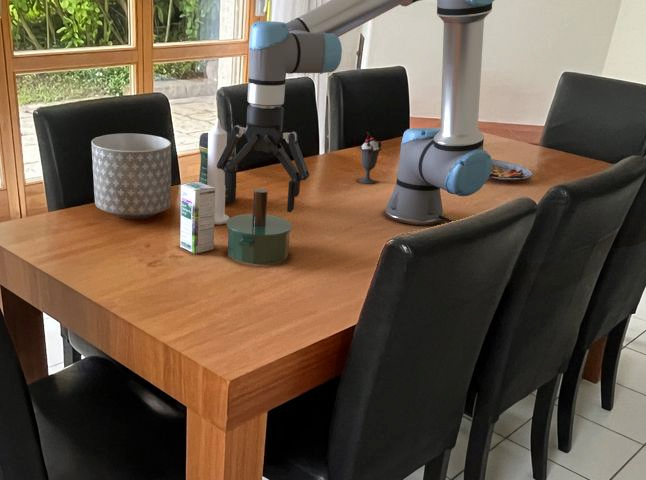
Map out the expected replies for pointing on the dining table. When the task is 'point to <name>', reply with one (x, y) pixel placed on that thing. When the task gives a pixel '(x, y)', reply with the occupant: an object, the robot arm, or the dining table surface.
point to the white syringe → (217, 170)
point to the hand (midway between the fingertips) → (260, 206)
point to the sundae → (369, 157)
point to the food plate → (509, 171)
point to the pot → (258, 248)
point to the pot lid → (259, 220)
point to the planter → (132, 174)
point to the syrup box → (197, 217)
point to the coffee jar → (204, 160)
